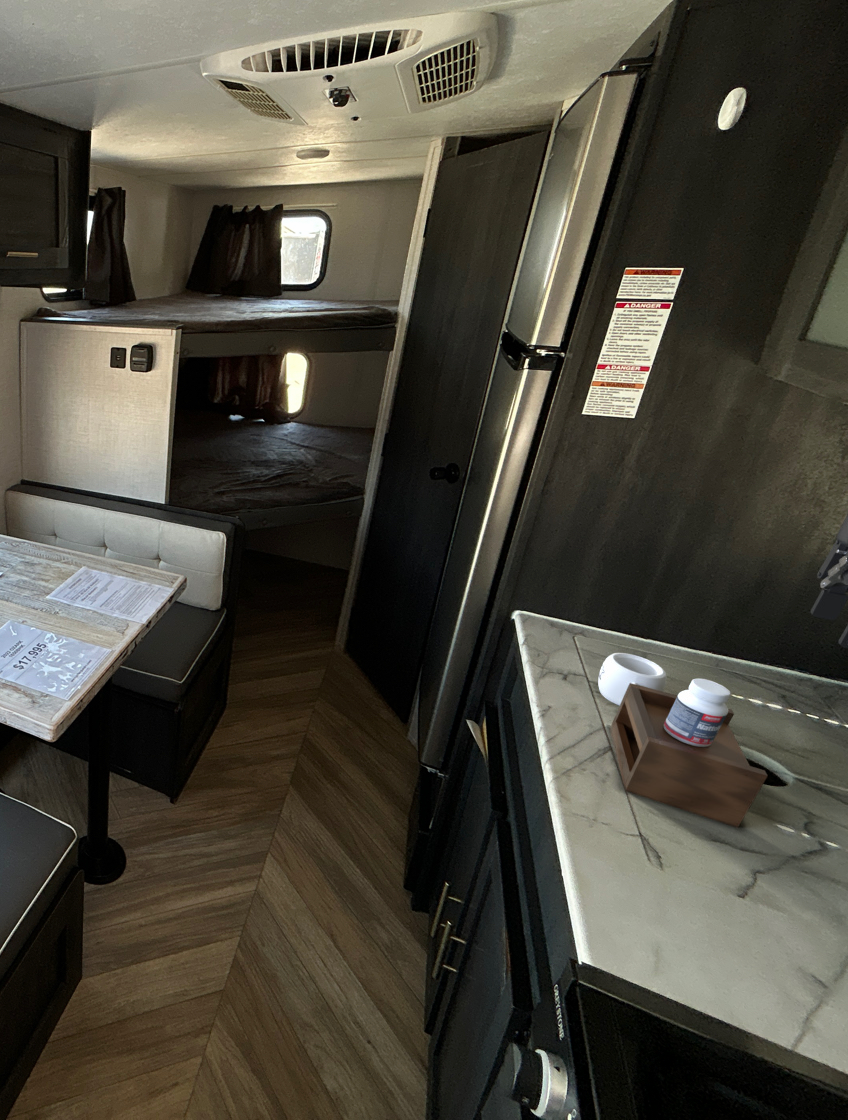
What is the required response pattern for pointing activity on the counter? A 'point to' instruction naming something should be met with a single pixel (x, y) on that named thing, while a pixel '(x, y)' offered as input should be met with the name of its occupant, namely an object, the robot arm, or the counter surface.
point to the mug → (628, 675)
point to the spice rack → (681, 761)
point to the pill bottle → (698, 713)
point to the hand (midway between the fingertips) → (835, 632)
